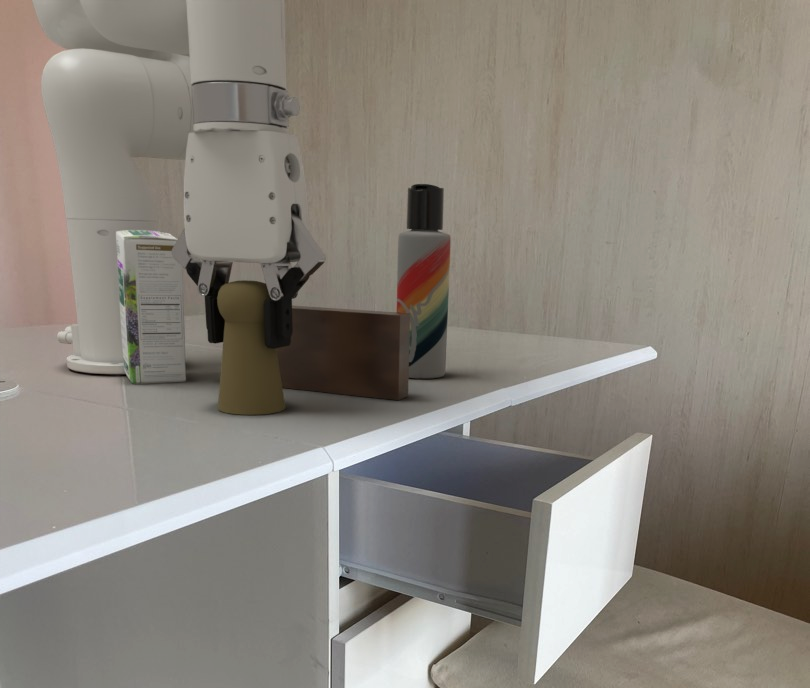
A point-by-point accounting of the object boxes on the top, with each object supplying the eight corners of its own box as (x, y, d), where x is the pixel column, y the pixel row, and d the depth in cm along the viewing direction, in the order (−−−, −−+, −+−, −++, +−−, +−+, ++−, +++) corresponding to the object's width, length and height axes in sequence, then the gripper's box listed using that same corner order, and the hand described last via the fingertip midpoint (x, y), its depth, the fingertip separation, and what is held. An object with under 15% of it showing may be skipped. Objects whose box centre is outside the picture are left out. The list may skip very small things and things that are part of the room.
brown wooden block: (225, 381, 88) (221, 303, 85) (238, 378, 90) (235, 301, 87) (398, 400, 81) (400, 315, 78) (408, 396, 83) (410, 313, 80)
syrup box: (122, 371, 90) (111, 229, 84) (178, 369, 92) (171, 230, 86) (131, 385, 85) (120, 236, 79) (189, 382, 88) (183, 237, 82)
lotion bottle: (387, 376, 93) (391, 182, 86) (405, 369, 98) (410, 186, 91) (435, 380, 91) (443, 183, 85) (451, 373, 96) (459, 186, 90)
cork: (271, 416, 72) (267, 284, 68) (206, 412, 73) (199, 281, 69) (294, 403, 78) (292, 280, 74) (233, 399, 79) (228, 278, 75)
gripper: (355, 118, 67) (355, 347, 74) (184, 123, 74) (197, 333, 80) (308, 105, 61) (312, 357, 67) (124, 112, 67) (143, 341, 74)
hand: (249, 342), depth 73 cm, fingers closed on cork, 5 cm apart
